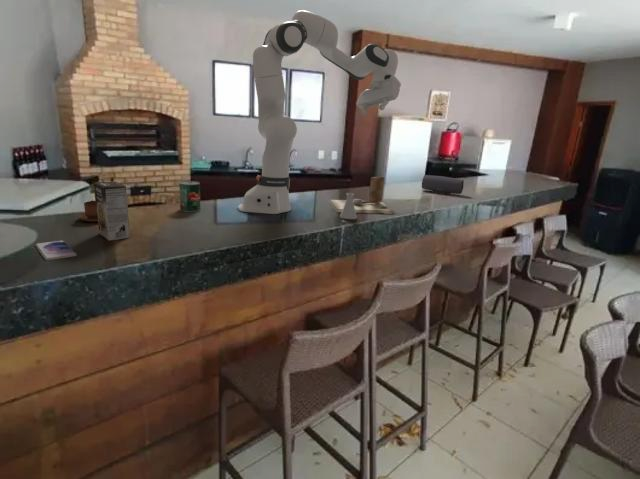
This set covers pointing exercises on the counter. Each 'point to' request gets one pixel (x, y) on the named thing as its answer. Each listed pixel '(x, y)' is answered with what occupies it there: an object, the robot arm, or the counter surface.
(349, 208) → the flask
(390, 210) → the dial board
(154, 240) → the counter surface
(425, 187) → the bluetooth speaker
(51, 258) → the smartphone
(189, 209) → the canned tomato
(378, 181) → the dial fin
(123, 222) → the coffee box
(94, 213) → the cup and saucer
